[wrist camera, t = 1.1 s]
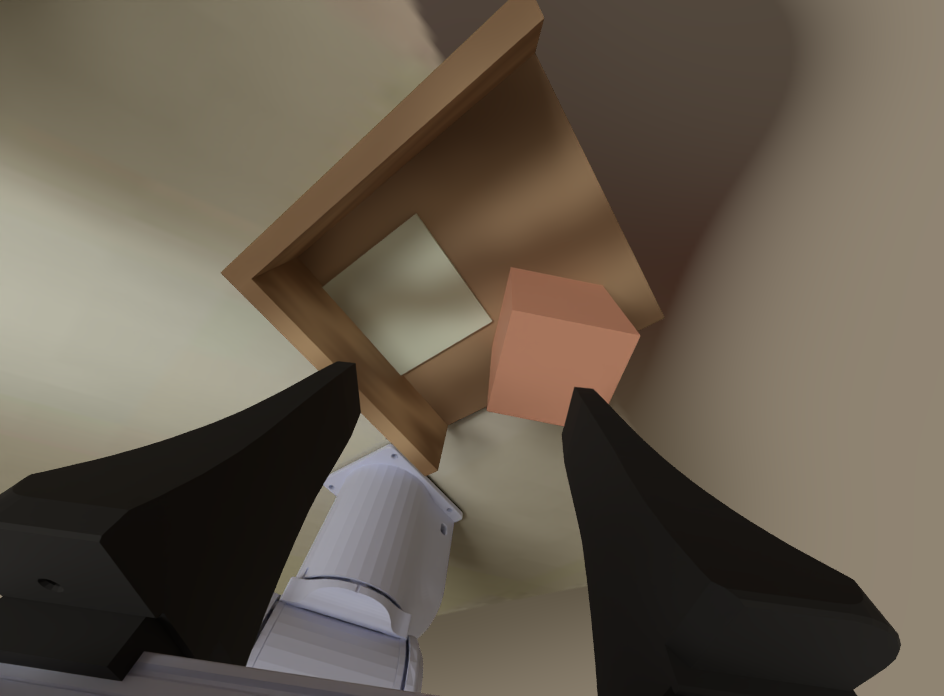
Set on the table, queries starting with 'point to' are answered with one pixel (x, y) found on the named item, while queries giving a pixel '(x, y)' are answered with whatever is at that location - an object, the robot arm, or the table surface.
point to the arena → (441, 237)
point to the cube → (555, 345)
